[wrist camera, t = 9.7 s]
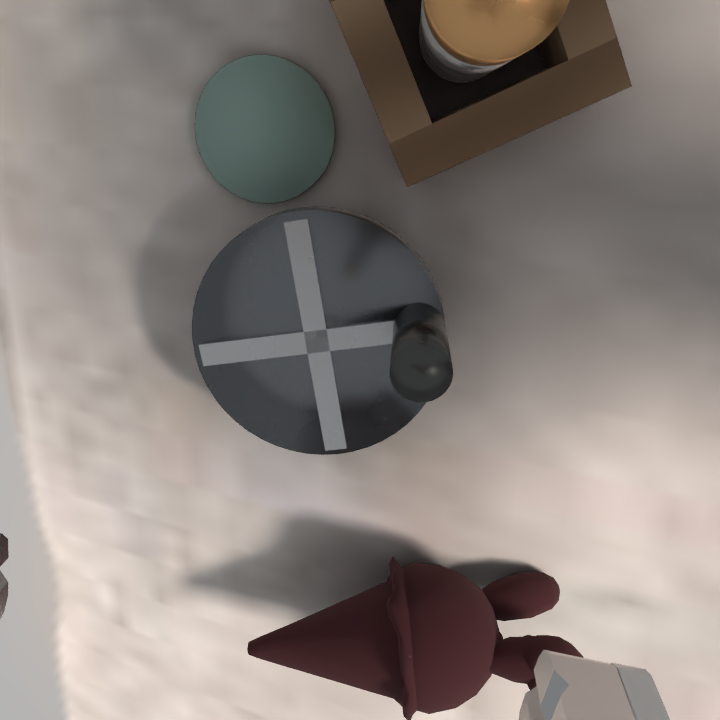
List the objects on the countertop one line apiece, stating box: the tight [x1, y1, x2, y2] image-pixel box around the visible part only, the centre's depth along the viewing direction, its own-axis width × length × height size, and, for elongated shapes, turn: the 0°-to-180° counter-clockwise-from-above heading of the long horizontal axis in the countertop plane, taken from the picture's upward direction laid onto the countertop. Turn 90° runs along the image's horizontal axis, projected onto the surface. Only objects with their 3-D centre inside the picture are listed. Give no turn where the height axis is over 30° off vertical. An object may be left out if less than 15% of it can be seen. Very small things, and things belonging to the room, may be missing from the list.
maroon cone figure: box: [247, 557, 583, 720], centre depth 32 cm, size 7×7×15 cm
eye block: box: [329, 0, 632, 187], centre depth 24 cm, size 8×8×4 cm
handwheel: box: [192, 207, 453, 455], centre depth 25 cm, size 10×10×6 cm
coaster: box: [195, 55, 335, 203], centre depth 27 cm, size 6×6×1 cm
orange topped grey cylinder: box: [419, 0, 570, 83], centre depth 21 cm, size 3×3×11 cm
